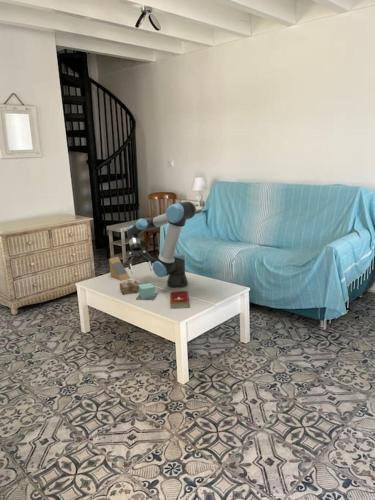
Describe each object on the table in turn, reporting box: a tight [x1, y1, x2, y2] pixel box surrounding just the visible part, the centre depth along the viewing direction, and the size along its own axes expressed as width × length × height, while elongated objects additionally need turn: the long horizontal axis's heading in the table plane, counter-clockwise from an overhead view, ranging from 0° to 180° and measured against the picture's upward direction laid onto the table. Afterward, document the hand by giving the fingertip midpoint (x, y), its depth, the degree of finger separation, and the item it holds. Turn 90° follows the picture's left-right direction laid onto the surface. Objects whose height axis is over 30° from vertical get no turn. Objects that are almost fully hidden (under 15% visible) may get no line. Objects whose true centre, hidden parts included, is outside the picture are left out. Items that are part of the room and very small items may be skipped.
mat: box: [135, 292, 159, 301], centre depth 269 cm, size 12×12×1 cm
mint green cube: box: [138, 282, 156, 299], centre depth 268 cm, size 9×9×7 cm
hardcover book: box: [169, 290, 190, 309], centre depth 258 cm, size 12×21×4 cm, turn 2°
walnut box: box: [119, 279, 140, 295], centre depth 280 cm, size 12×11×7 cm
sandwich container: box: [108, 256, 131, 282], centre depth 309 cm, size 9×15×15 cm, turn 44°
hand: (141, 271), depth 275 cm, fingers open, 13 cm apart
